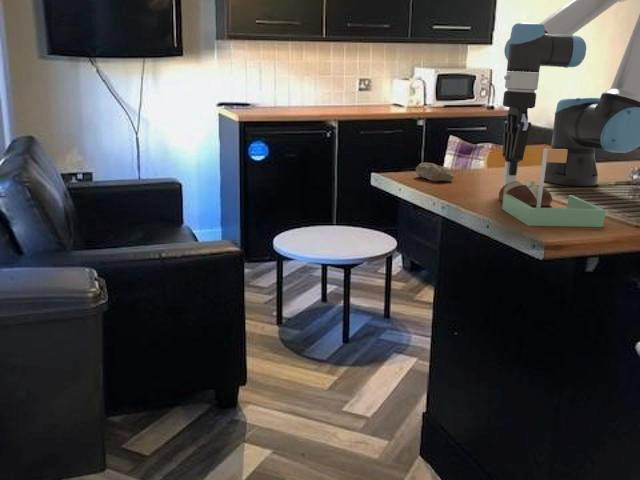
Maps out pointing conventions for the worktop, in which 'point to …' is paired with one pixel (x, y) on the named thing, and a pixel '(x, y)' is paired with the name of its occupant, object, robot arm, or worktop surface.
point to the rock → (434, 172)
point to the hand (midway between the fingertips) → (508, 187)
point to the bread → (526, 193)
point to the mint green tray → (573, 215)
